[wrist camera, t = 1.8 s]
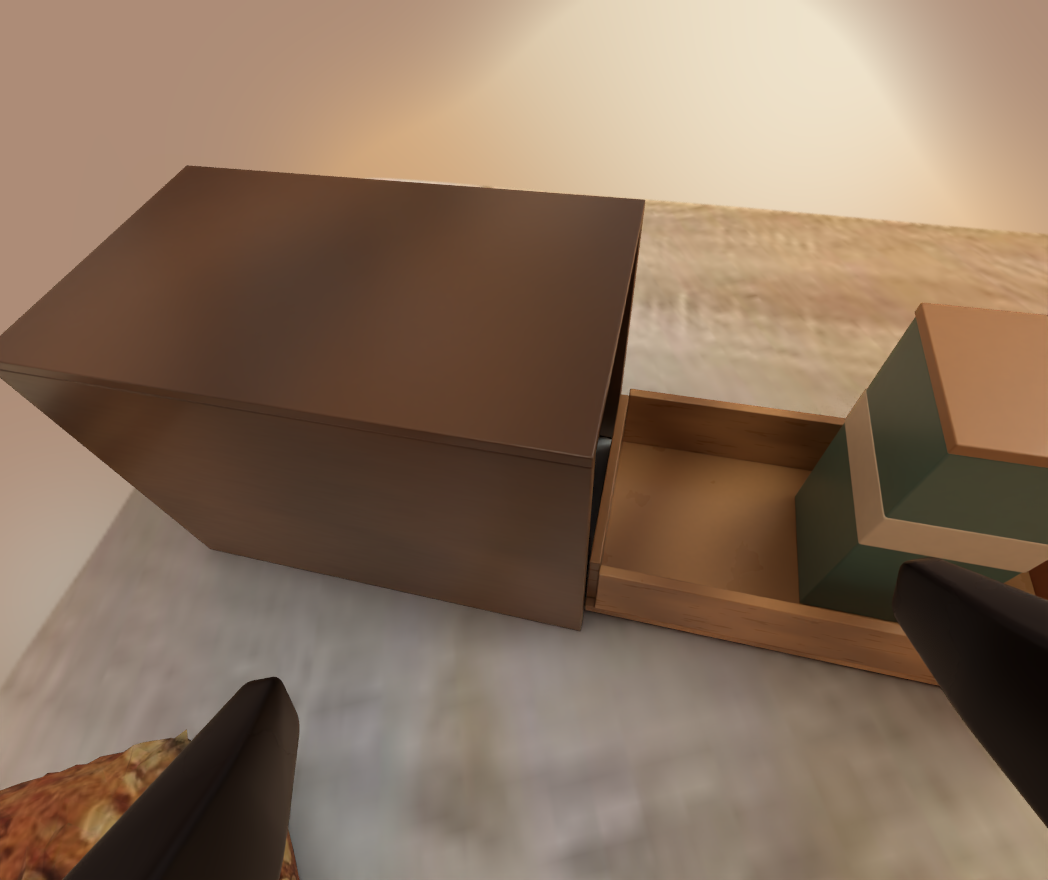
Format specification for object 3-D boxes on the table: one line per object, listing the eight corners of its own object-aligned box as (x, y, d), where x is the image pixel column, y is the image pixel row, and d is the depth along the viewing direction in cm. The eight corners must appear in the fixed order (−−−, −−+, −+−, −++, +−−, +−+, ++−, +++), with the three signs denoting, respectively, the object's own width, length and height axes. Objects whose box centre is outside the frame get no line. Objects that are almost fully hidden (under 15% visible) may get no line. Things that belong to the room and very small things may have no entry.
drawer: (1045, 492, 25) (1238, 353, 18) (1134, 751, 19) (1473, 700, 12) (617, 427, 28) (634, 289, 21) (580, 629, 22) (587, 533, 15)
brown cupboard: (616, 430, 28) (645, 199, 18) (580, 631, 23) (593, 459, 12) (309, 383, 32) (186, 165, 21) (209, 549, 26) (-26, 357, 16)
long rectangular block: (908, 513, 24) (1112, 320, 15) (928, 630, 21) (1195, 478, 12) (793, 494, 25) (920, 301, 16) (797, 604, 22) (956, 444, 13)
